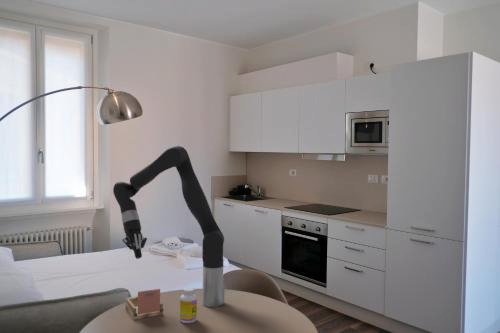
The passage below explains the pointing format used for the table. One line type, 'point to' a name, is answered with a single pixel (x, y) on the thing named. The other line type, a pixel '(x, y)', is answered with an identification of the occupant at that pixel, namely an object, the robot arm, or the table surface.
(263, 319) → the table surface
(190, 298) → the supplement bottle
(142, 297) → the panel
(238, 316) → the table surface
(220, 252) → the robot arm
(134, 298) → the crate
